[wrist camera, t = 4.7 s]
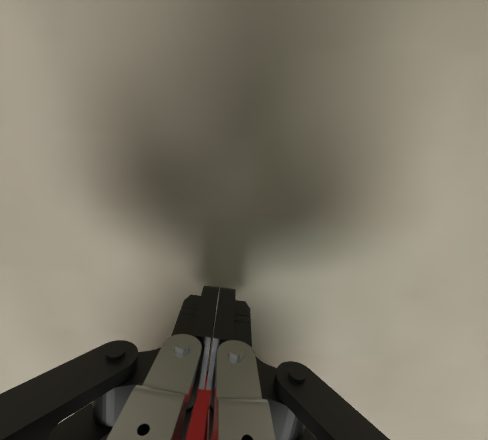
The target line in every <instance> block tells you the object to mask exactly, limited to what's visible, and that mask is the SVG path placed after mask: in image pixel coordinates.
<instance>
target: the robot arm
mask: <svg viewBox="0 0 488 440" xmlns="http://www.w3.org/2000/svg"><path fill="white" fill-rule="evenodd" d="M218 292H219V287H212V286H204V287H203V291H202V295H201V296H198V295H190V296H189V297H187V298H186V299H185V300H184V302H183V305H182V308H181V310H180V313H179V316H178V319H177V322H176V324H175V327H174V330H173V333H172V336H171V337H169V338H168V339H166V340H165V342H164V343H163V345H162V347H161V348H158V349H156V350H152V351H145V352H138V349H137V347H136V346H135V345H134V344H133V343H131V342H128V341H121V340H119V341H112V342H109V343H106V344H104V345H102V346H100V347H98V348H95V349H93V350H91V351H89V352H87V353H85V354H83V355H81V356H79V357H77V358H75V359H73V360H70V361H68V362H66V363H64V364H62V365H60V366H58V367H56V368H54V369H52V370H50V371H48V372H45V373H43V374H41V375H39V376H37V377H35V378H33V379H31V380H29V381H27V382H25V383H23V384H20V385H18V386H16V387H14V388H12V389H10V390H8V391H6V392H4V393H2V394H0V440H186V437H187V433H188V429H189V426H190V422H191V418H192V414H193V410H194V404H195V402H196V400H197V395H198V390H199V389H203V390H204V386H205V380H206V373H207V367H208V360H209V353H210V347H211V340H212V334H213V327H214V320H215V313H216V306H217V299H218ZM206 390H211V395H210V403H209V409H208V427H207V440H390V439H388V438H387V437H386V436H385V435H384V434H383V433H382V432H381V431H379V430H378V429H377V428H376V427H375V426H374V425H373V424H371V423H370V422H369V421H368V420H367V419H366V418H365V417H363V416H362V415H361V414H360V413H359V412H358V411H357V410H355V409H354V408H353V407H352V406H351V405H350V404H349V403H348V402H346V401H345V400H344V399H343V398H342V397H341V396H340V395H338V394H337V393H336V392H335V391H334V390H333V389H332V388H330V387H329V386H328V385H327V384H326V383H325V382H324V381H322V380H321V379H320V378H319V377H318V376H317V375H316V374H314V373H313V372H312V371H311V370H310V369H309V368H307V367H306V366H304V365H303V364H300V363H298V362H292V361H288V362H284V363H281V364H280V365H279V366H278V368H275V367H272V366H269V365H267V364H265V363H263V362H262V361H260V360H259V359H258V358H257V357H256V356H255V352H254V350H253V349H252V341H251V319H250V308H249V306H248V305H247V303H246V302H245V301H237V300H235V289H228V288H220V294H219V301H218V308H217V315H216V322H215V329H214V335H213V342H212V349H211V357H210V364H209V371H208V378H207V385H206ZM91 402H92V403H91ZM89 403H91V404H89ZM87 404H89V405H88V406H86V405H87ZM84 406H86V407H85V408H83V407H84ZM81 408H83V409H81ZM79 409H81V410H80V411H78V410H79ZM76 411H78V412H77V413H75V414H73V413H74V412H76ZM71 414H73V415H72V416H70V415H71ZM68 416H70V417H68ZM66 417H68V418H67V419H65V418H66ZM63 419H65V420H64V421H62V420H63ZM60 421H62V422H60ZM59 422H60V423H59ZM58 423H59V424H58ZM311 433H312V434H313V435H314V436H315V437H316V438H315V437H314V436H313V435H312V434H311Z"/></svg>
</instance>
